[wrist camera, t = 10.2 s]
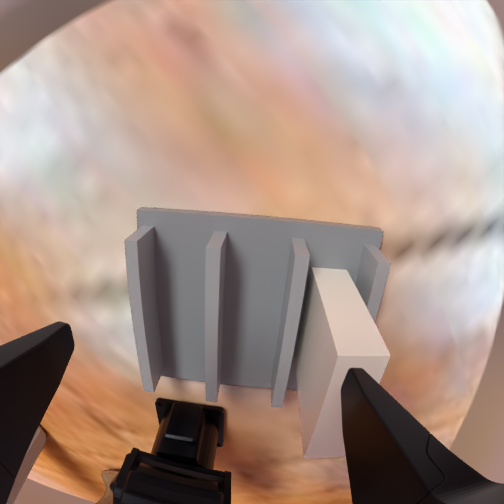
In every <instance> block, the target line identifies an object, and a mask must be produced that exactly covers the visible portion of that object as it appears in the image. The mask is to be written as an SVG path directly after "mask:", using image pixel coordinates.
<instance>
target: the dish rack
mask: <svg viewBox="0 0 504 504" xmlns="http://www.w3.org/2000/svg"><path fill="white" fill-rule="evenodd" d="M382 236H383V231H382V230H381V229H380V228H376V227H368V226H359V225H350V224H341V223H332V222H322V221H313V220H302V219H292V218H281V217H270V216H259V215H247V214H235V213H222V212H208V211H194V210H179V209H162V208H144V207H141V208H139V209H138V210H137V230H136V231H135V232H134V233H133V234H131V235H130V236H129V237H128V238H127V239H125V255H126V267H127V278H128V288H129V298H130V306H131V314H132V322H133V329H134V336H135V342H136V348H137V355H138V360H139V366H140V372H141V377H142V382H143V387H144V391H148V392H153V393H154V391H155V389H156V386H157V384H158V381H159V379H160V376H166V377H173V378H179V379H186V380H193V381H200V382H206V401H211V402H217V398H218V392H219V387H220V384H225V385H235V386H246V387H258V388H271V407H282V406H283V401H284V396H285V392H286V389H293V390H298V388H297V378H296V368H295V359H296V354H297V349H298V344H299V338H300V333H301V328H302V322H303V316H304V311H305V305H306V299H307V293H308V287H309V281H310V275H311V268H312V267H316V268H329V269H342V270H347V271H348V273H349V275H350V277H351V279H352V280H353V282H354V284H355V286H356V288H357V290H358V292H359V294H360V295H361V297H362V299H363V301H364V303H365V305H366V307H367V309H368V311H369V313H370V315H371V317H372V319H373V321H374V323H375V320H376V317H377V313H378V310H379V306H380V303H381V299H382V295H383V292H384V288H385V284H386V280H387V276H388V272H389V268H390V264H391V263H390V262H389V261H388V259H387V258H386V257H385V256H384V255H383V254H382V253H381V251H380V246H381V241H382Z"/></svg>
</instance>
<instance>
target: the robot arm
mask: <svg viewBox="0 0 504 504" xmlns="http://www.w3.org/2000/svg"><path fill="white" fill-rule="evenodd" d="M73 350H74V340H73V335H72V331H71V327H70V325H69V324H67V323H64V322H60V321H59V322H56V323H53V324H51V325H49V326H46V327H44V328H41V329H39V330H37V331H34V332H32V333H29V334H27V335H25V336H22V337H20V338H18V339H15V340H13V341H10V342H8V343H6V344H3V345H1V346H0V504H6V503H7V501H8V498H9V495H10V493H11V490H12V487H13V485H14V482H15V479H16V477H17V474H18V472H19V469H20V467H21V465H22V462H23V460H24V458H25V455H26V453H27V451H28V448H29V446H30V444H31V442H32V440H33V437H34V435H35V433H36V431H37V429H38V427H39V425H40V422H41V420H42V418H43V416H44V414H45V412H46V410H47V408H48V406H49V404H50V402H51V400H52V398H53V396H54V394H55V393H56V391H57V389H58V387H59V384H60V382H61V380H62V377H63V375H64V372H65V370H66V367H67V365H68V362H69V360H70V358H71V355H72V353H73ZM155 405H156V410H157V415H158V420H159V425H160V427H159V430H158V433H157V436H156V439H155V442H154V445H153V448H152V451H151V454H150V453H146V452H143V451H140V450H139V449H137V448H134V447H133V449H132V451H131V453H129V454H127V455H126V457H125V460H124V463H123V465H122V467H121V469H120V471H119V472H118V473H117V475H116V476H115V478H114V479H113V480H112V482H111V484H110V490H111V491H112V493H113V504H231V472H228V471H225V472H223V471H217V470H213V467H214V460H215V454H216V447H222V446H223V434H224V409H223V408H221V407H215V406H207V405H200V404H192V403H186V402H179V401H173V400H167V399H162V398H158V399H156V402H155ZM341 411H342V433H343V440H344V447H345V453H346V460H347V466H348V473H349V480H350V488H351V495H352V503H353V504H504V484H501V483H495V482H493V481H490V480H488V479H486V478H485V477H483V476H482V475H481V474H479V473H478V472H477V471H475V470H474V469H473V468H471V467H470V466H469V465H467V464H466V463H465V462H463V461H462V460H461V459H460V458H458V457H457V456H456V455H455V454H453V453H452V452H451V451H450V450H448V449H447V448H446V447H445V446H444V445H443V444H442V443H441V442H440V441H438V440H437V439H436V438H435V437H434V436H433V435H432V434H430V432H429V431H428V430H427V429H426V428H425V427H424V426H423V425H421V424H420V423H419V422H418V421H417V420H416V419H415V418H414V417H413V416H412V415H411V414H410V413H409V412H408V411H407V410H406V409H405V408H404V407H403V406H402V405H400V404H399V403H398V402H397V401H396V400H395V399H394V398H393V397H392V396H391V395H390V394H389V393H388V392H387V391H386V390H385V389H384V388H383V387H382V386H381V385H380V384H379V383H378V382H376V381H375V380H374V379H373V378H372V377H371V376H370V375H369V374H368V373H367V372H366V371H365V370H364V369H363V368H353V367H352V368H349V370H348V371H347V374H346V376H345V379H344V381H343V384H342V386H341Z"/></svg>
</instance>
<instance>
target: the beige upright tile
mask: <svg viewBox="0 0 504 504" xmlns="http://www.w3.org/2000/svg"><path fill="white" fill-rule="evenodd" d="M390 356H391V355H390V353H389V351H388V349H387V347H386V345H385V343H384V341H383V339H382V337H381V335H380V333H379V331H378V329H377V327H376V325H375V323H374V321H373V319H372V317H371V315H370V313H369V311H368V309H367V307H366V305H365V303H364V301H363V299H362V297H361V295H360V294H359V292H358V290H357V288H356V286H355V284H354V282H353V280H352V279H351V277H350V275H349V273H348V271H347V270H342V269H329V268H316V267H312V268H311V275H310V281H309V287H308V293H307V299H306V305H305V311H304V316H303V322H302V328H301V333H300V338H299V344H298V349H297V354H296V359H295V368H296V378H297V388H298V399H299V411H300V422H301V434H302V447H303V459H314V458H340V457H344V456H345V454H346V453H345V447H344V440H343V433H342V411H341V386H342V384H343V381H344V379H345V376H346V374H347V371H348V370H349V368H352V367H353V368H363V369H364V370H365V371H366V372H367V373H368V374H369V375H370V376H371V377H372V378H373V379H374V380H375V381H376V382H378V383H379V384H380V381H381V379H382V376H383V374H384V371H385V369H386V367H387V364H388V361H389V359H390Z"/></svg>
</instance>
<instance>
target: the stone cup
mask: <svg viewBox="0 0 504 504" xmlns="http://www.w3.org/2000/svg"><path fill="white" fill-rule="evenodd" d="M118 472H119V471H115V470H110V471H107V470H104V471H102V472H101V476H102V478H103V481H104V483H105V485H106V492H105V495H104V496H103V498H102V499H101V500H100V501H98V502H97V503H96V504H113V493H112V491H111V490H110V484H111V482H112V480H113V479H114V478H115V476H116V475H117V473H118Z"/></svg>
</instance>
